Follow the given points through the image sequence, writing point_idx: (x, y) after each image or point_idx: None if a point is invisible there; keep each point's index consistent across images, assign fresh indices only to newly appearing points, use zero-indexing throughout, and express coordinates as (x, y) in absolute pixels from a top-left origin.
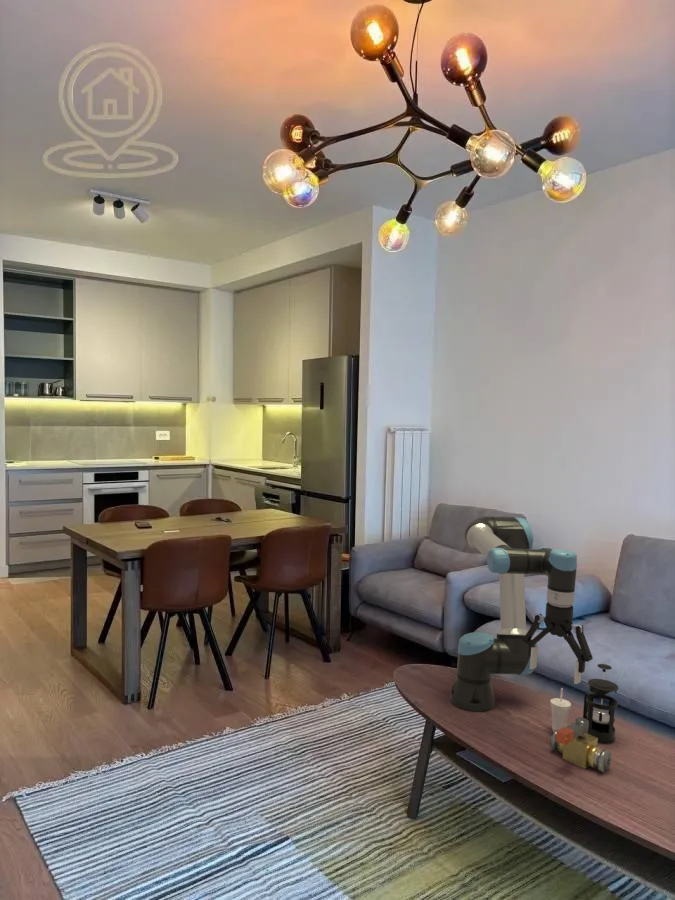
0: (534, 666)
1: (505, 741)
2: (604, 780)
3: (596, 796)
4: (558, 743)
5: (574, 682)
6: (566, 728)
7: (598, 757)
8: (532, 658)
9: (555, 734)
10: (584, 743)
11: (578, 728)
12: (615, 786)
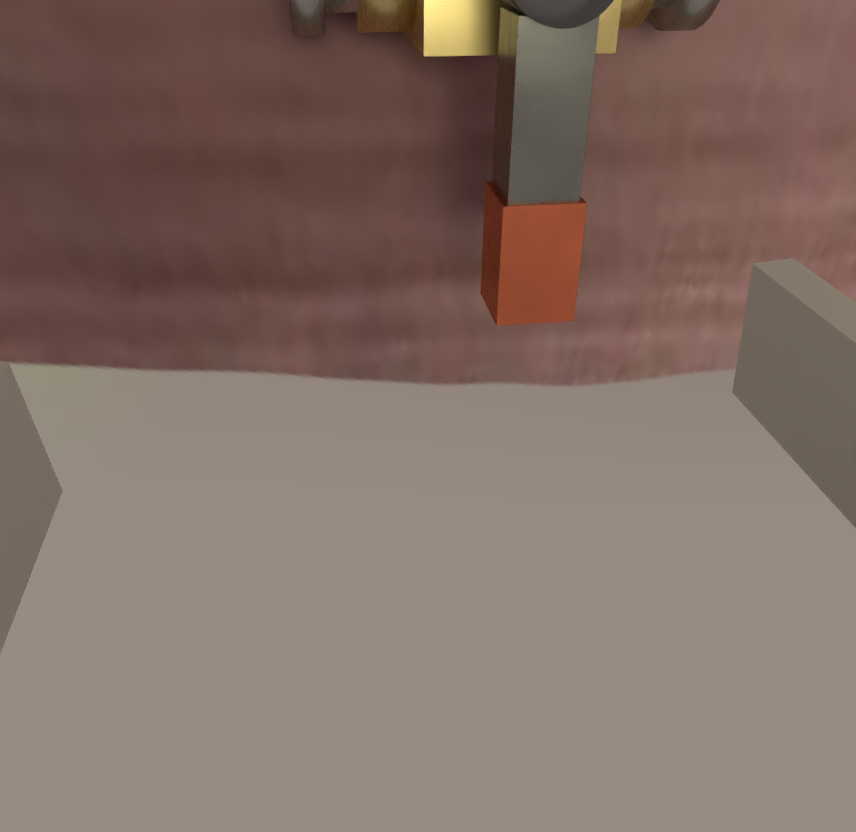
0: (25, 444)
1: (30, 162)
2: (692, 53)
3: (704, 246)
4: (363, 31)
5: (745, 397)
6: (528, 225)
7: (677, 22)
8: (3, 631)
9: (316, 5)
10: (596, 52)
11: (587, 112)
12: (759, 62)
